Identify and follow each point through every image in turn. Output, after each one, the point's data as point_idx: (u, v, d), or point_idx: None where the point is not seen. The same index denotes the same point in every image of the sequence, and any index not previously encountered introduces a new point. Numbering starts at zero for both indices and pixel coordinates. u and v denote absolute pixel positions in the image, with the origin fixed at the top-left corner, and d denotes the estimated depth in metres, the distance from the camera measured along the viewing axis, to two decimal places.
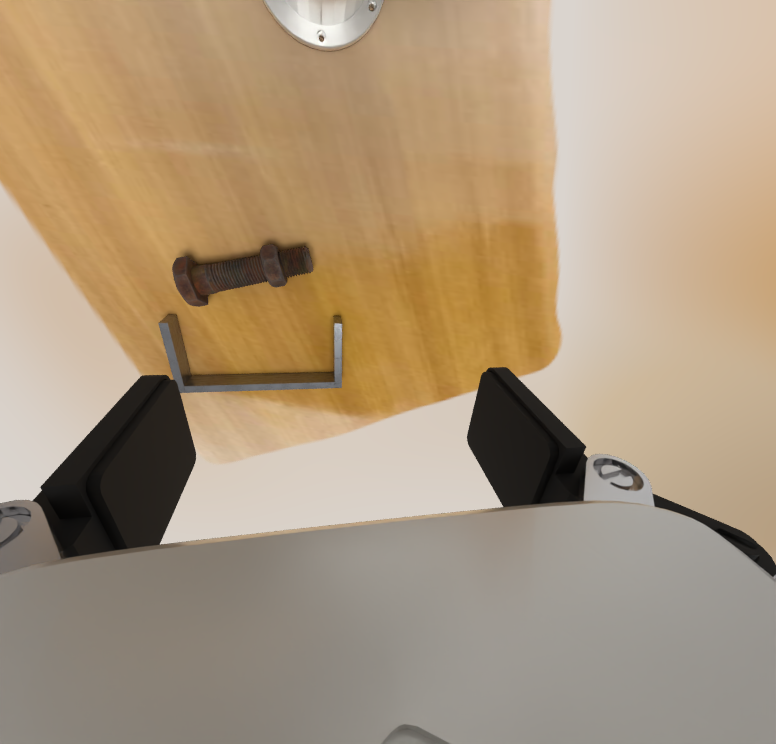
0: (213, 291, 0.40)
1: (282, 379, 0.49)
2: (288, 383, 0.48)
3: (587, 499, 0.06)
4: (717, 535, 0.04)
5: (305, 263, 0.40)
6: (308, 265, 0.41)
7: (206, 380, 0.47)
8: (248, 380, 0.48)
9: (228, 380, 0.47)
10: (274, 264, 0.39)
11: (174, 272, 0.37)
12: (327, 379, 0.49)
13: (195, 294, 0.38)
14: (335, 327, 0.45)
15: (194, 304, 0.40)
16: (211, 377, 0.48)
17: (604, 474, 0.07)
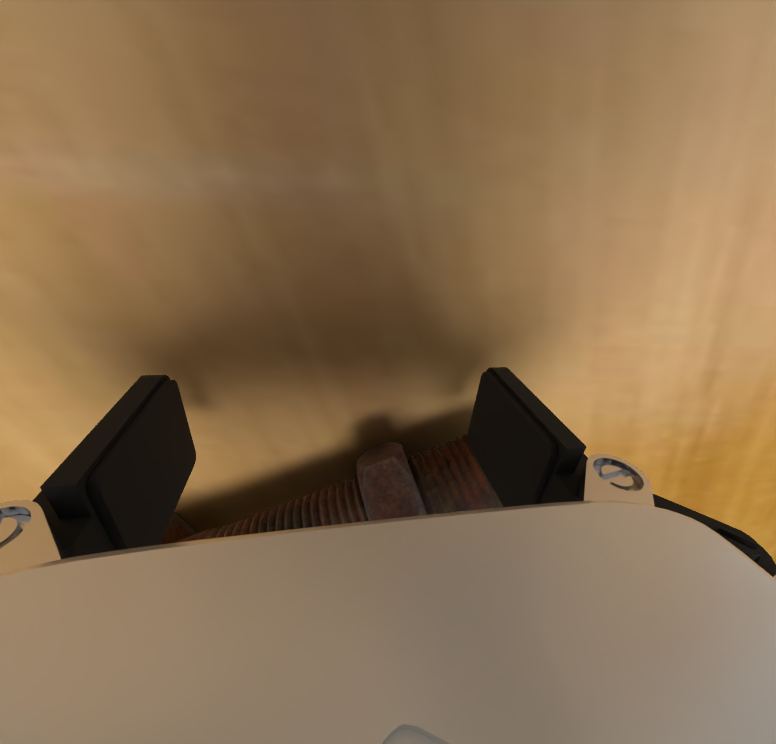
0: None
1: None
2: None
3: (587, 499, 0.06)
4: (717, 535, 0.04)
5: None
6: None
7: None
8: None
9: None
10: None
11: None
12: None
13: None
14: None
15: None
16: None
17: (604, 474, 0.07)
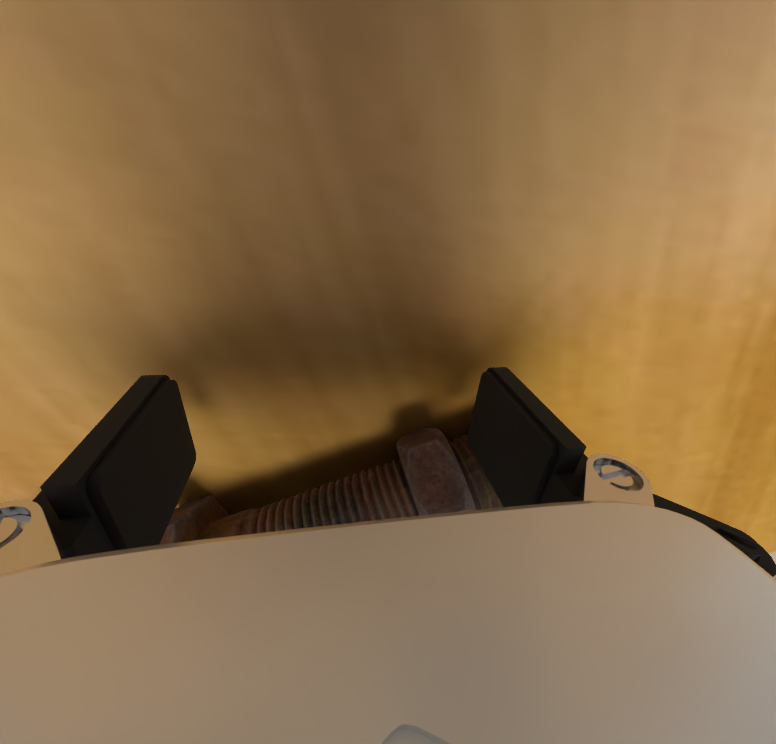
0: None
1: None
2: None
3: (587, 499, 0.06)
4: (717, 535, 0.04)
5: None
6: None
7: None
8: None
9: None
10: None
11: None
12: None
13: None
14: None
15: None
16: None
17: (604, 474, 0.07)
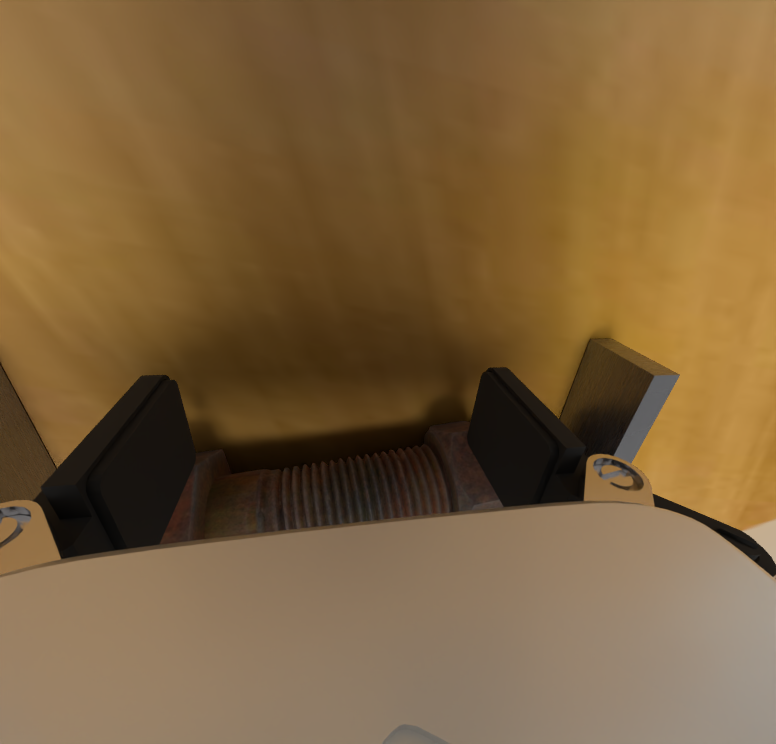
0: None
1: None
2: None
3: (587, 499, 0.06)
4: (717, 535, 0.04)
5: None
6: None
7: None
8: None
9: None
10: None
11: None
12: None
13: None
14: (651, 389, 0.11)
15: None
16: None
17: (604, 474, 0.07)
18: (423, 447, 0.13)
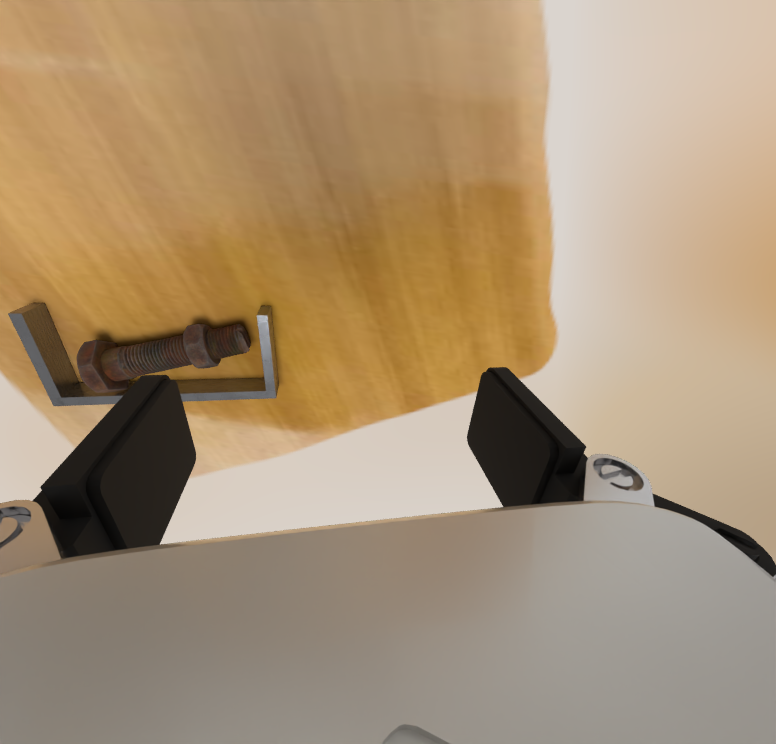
0: (130, 377, 0.34)
1: (198, 387, 0.38)
2: (204, 393, 0.37)
3: (587, 499, 0.06)
4: (717, 535, 0.04)
5: (237, 345, 0.35)
6: (242, 346, 0.35)
7: None
8: None
9: (125, 389, 0.37)
10: (199, 349, 0.34)
11: (78, 362, 0.32)
12: (257, 387, 0.39)
13: (105, 384, 0.33)
14: (259, 320, 0.34)
15: (108, 391, 0.35)
16: None
17: (604, 474, 0.07)
18: None
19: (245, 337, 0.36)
